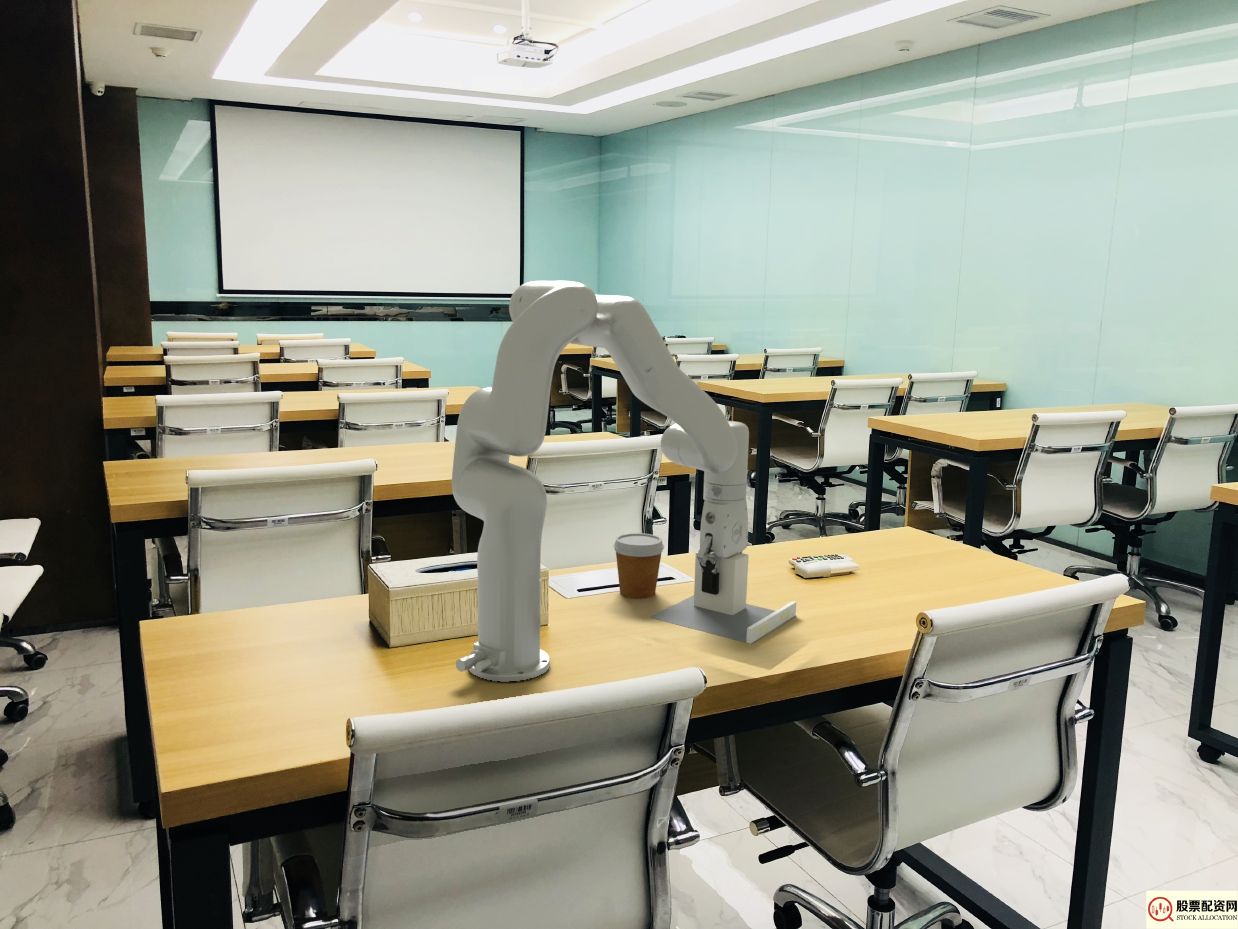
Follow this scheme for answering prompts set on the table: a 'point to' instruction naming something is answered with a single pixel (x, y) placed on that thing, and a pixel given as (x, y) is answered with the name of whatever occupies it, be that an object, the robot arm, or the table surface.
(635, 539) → the disposable coffee cup
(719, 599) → the carton
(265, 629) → the table surface
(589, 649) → the table surface
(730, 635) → the shelf board
